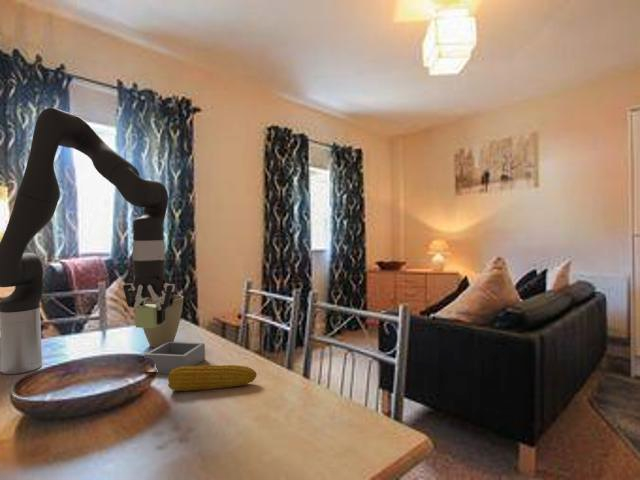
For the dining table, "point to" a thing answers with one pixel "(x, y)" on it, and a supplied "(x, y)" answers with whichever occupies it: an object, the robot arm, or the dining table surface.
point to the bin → (176, 355)
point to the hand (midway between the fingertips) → (150, 323)
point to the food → (209, 377)
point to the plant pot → (170, 326)
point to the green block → (146, 316)
